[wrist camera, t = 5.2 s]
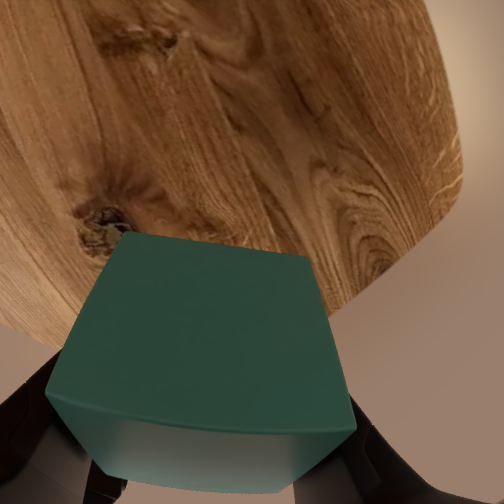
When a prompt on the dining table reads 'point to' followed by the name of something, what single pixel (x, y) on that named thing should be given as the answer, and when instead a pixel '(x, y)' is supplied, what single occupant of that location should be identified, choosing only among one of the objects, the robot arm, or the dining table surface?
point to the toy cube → (203, 368)
